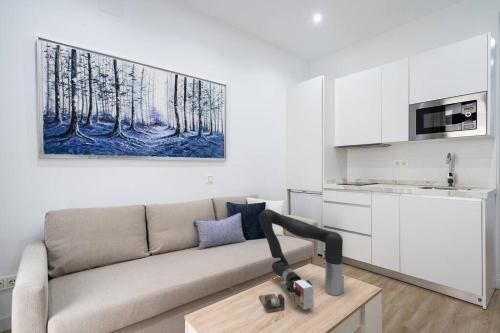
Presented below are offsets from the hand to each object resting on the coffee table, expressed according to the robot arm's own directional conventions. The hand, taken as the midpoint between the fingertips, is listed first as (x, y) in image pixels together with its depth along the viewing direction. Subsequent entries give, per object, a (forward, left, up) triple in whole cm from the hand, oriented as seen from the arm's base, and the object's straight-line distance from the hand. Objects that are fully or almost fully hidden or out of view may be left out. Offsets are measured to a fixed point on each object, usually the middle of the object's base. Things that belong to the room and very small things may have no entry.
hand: (305, 293), depth 120 cm
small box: (0, -2, -7) cm, 7 cm away
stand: (+14, -10, -9) cm, 20 cm away
